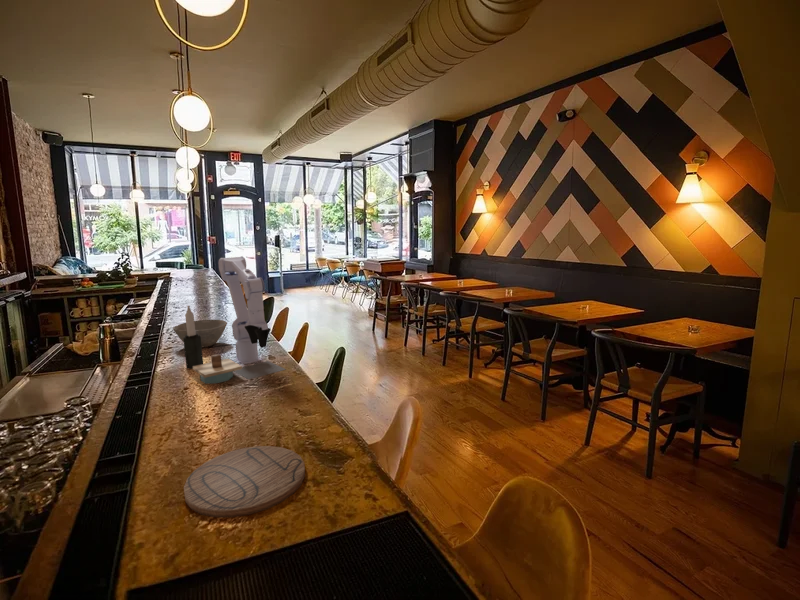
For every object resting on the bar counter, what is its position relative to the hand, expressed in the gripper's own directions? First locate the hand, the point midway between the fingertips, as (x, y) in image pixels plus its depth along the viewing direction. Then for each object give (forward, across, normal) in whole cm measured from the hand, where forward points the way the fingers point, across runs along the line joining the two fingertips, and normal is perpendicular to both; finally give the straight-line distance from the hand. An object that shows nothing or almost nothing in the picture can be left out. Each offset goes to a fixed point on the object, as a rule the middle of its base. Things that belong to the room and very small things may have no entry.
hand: (258, 345), depth 173 cm
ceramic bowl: (+10, -52, -5) cm, 53 cm away
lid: (+6, 0, -16) cm, 17 cm away
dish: (+10, 0, -17) cm, 19 cm away
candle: (+10, -20, -18) cm, 28 cm away
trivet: (+10, +71, -35) cm, 80 cm away
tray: (+10, +2, -2) cm, 10 cm away
